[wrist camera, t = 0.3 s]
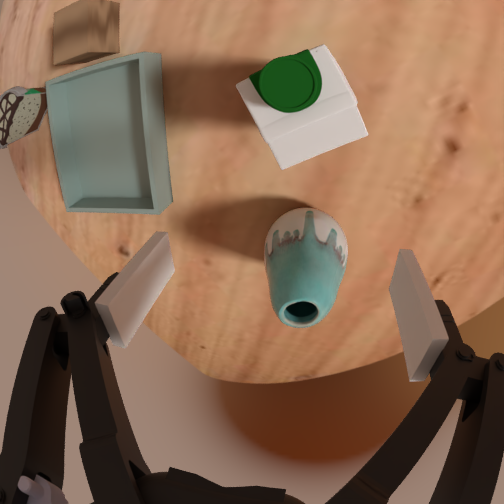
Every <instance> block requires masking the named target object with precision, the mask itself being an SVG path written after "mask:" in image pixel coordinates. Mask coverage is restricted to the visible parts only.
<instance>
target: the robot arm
mask: <svg viewBox="0 0 504 504" xmlns="http://www.w3.org/2000/svg"><path fill="white" fill-rule="evenodd" d="M174 271H175V269H174V264H173V259H172V254H171V248H170V243H169V237H168V232H157V231H156V232H155V233H154V235H153V236H152V237H151V238H150V239H149V240H148V241H147V242H146V243H145V244H144V246H143V247H142V248H141V249H140V250H139V251H138V252H137V253H136V254H135V256H134V257H133V258H132V259H131V260H130V261H129V262H128V264H127V265H126V266H125V267H124V268H123V269H122V271H121V272H120V273H118V272H116V273H114V274H113V275H111V276H110V277H108V278H107V280H106V281H105V282H104V283H103V285H101V287H100V288H99V289H98V290H97V291H96V292H95V294H94V295H93V296H92V297H91V298H90V300H89V301H88V302H87V299H86V297H85V295H84V293H83V292H81V291H74V292H71V293H68V294H67V295H66V296H64V297H63V299H62V300H61V306H62V308H63V310H64V312H65V314H57V312H56V310H55V309H54V308H53V307H45V308H42V309H41V310H40V311H38V313H37V314H36V316H35V318H34V320H33V323H32V326H31V329H30V332H29V335H28V338H27V341H26V344H25V347H24V350H23V354H22V357H21V361H20V364H19V368H18V371H17V375H16V379H15V383H14V387H13V391H12V396H11V400H10V405H9V410H8V415H7V421H6V427H5V433H4V440H3V447H2V452H1V454H0V504H68V501H67V500H66V499H65V495H64V494H63V492H62V486H63V479H64V449H65V429H66V428H65V427H66V415H67V404H68V394H69V386H70V379H71V374H72V381H73V388H74V395H75V401H76V407H77V412H78V418H79V422H80V427H81V432H82V436H83V442H82V443H80V446H79V449H80V454H81V458H82V462H83V466H84V470H85V473H86V476H87V480H88V484H89V487H90V490H91V493H92V496H93V499H94V502H93V503H91V504H305V503H304V502H302V501H300V500H299V499H297V498H295V497H293V496H290V495H287V494H285V492H286V489H278V488H269V487H261V486H246V487H222V486H220V485H218V484H215V483H213V482H211V481H209V480H207V479H205V478H203V477H201V476H199V475H197V474H194V473H190V472H186V471H182V470H179V469H175V468H172V467H170V468H169V471H168V472H158V473H151V471H150V469H149V468H148V466H147V465H146V463H145V461H144V460H143V457H142V455H141V452H140V450H139V447H138V445H137V442H136V439H135V436H134V434H133V431H132V428H131V425H130V422H129V419H128V416H127V413H126V410H125V407H124V404H123V400H122V397H121V394H120V390H119V387H118V384H117V380H116V376H115V372H114V369H113V365H112V361H111V357H110V353H109V348H108V345H107V343H106V341H107V340H108V338H109V337H110V339H111V341H112V343H113V345H116V346H119V347H123V348H126V347H127V345H128V344H129V342H130V341H131V339H132V337H133V336H134V334H135V333H136V331H137V329H138V328H139V326H140V324H141V323H142V321H143V320H144V318H145V316H146V315H147V313H148V312H149V310H150V309H151V307H152V305H153V304H154V302H155V301H156V299H157V298H158V296H159V294H160V293H161V291H162V290H163V288H164V287H165V285H166V284H167V282H168V281H169V279H170V278H171V276H172V274H173V273H174ZM389 291H390V295H391V299H392V303H393V306H394V310H395V314H396V318H397V323H398V327H399V331H400V336H401V340H402V345H403V350H404V354H405V359H406V364H407V370H408V375H409V381H425V379H426V377H427V376H428V374H429V373H430V377H431V381H430V383H429V384H428V386H427V387H426V389H425V390H424V392H423V393H422V395H421V396H420V397H419V399H418V400H417V402H416V403H415V405H414V406H413V407H412V409H411V410H410V411H409V413H408V414H407V416H406V417H405V418H404V419H403V421H402V422H401V423H400V425H399V426H398V427H397V428H396V430H395V431H394V432H393V433H392V435H391V436H390V437H389V438H388V439H387V441H386V442H385V443H384V444H383V445H382V446H381V448H380V449H379V450H378V451H377V452H376V453H375V455H374V456H373V457H372V458H371V459H370V460H369V461H368V462H367V463H366V464H365V465H364V466H363V467H362V469H361V470H360V471H359V472H358V473H357V474H356V475H355V476H354V477H353V478H352V479H351V480H350V481H349V482H348V483H347V484H346V485H345V486H344V487H343V488H342V489H340V490H339V492H338V493H336V494H335V495H334V496H333V497H332V498H331V499H330V500H328V502H326V503H325V504H387V502H388V500H389V497H390V496H391V494H392V493H393V492H394V491H395V490H396V489H397V487H398V486H399V485H400V484H401V483H402V481H403V480H404V479H405V478H406V476H407V475H408V474H409V472H410V471H411V470H412V468H413V467H414V466H415V464H416V463H417V462H418V460H419V459H420V457H421V456H422V455H423V453H424V452H425V450H426V448H427V447H428V446H429V444H430V443H431V441H432V440H433V438H434V437H435V435H436V434H437V432H438V430H439V429H440V427H441V426H442V424H443V422H444V421H445V419H446V417H447V416H448V414H449V412H450V410H451V408H452V407H453V405H454V403H455V401H456V399H462V400H463V401H462V406H461V410H460V414H459V418H458V422H457V426H456V430H455V433H454V436H453V440H452V443H451V446H450V449H449V453H448V456H447V459H446V461H445V465H444V467H443V470H442V473H441V475H440V478H439V481H438V483H437V486H436V488H435V491H434V493H433V495H432V497H431V500H430V502H429V504H490V503H491V500H492V497H493V493H494V490H495V486H496V483H497V479H498V475H499V471H500V467H501V462H502V457H503V453H504V354H502V353H494V354H493V355H492V356H491V357H490V359H485V358H480V357H477V356H476V355H475V352H474V351H473V349H472V348H471V347H470V346H468V345H466V344H464V343H463V341H462V338H461V336H460V333H459V331H458V328H457V325H456V323H455V321H454V318H453V316H452V313H451V311H450V309H449V307H448V306H447V305H446V303H445V302H444V301H443V300H434V298H433V296H432V293H431V291H430V288H429V286H428V284H427V282H426V279H425V277H424V275H423V272H422V270H421V268H420V266H419V264H418V262H417V259H416V257H415V255H414V253H413V251H412V250H406V249H399V254H398V258H397V261H396V265H395V269H394V273H393V276H392V280H391V284H390V287H389Z"/></svg>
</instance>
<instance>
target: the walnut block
mask: <svg viewBox="0 0 504 504" xmlns="http://www.w3.org/2000/svg"><path fill="white" fill-rule="evenodd" d="M119 7H120V3H116V2H112V1H108V0H79V1H77V2H75V3H73V4H71V5H69V6H67V7H65V8H63V9H61V10H59V11H57V12H55V13H54V22H53V62H54V65H60V64H72V63H86V62H90V61H93V60H96V59H99V58H102V57H106V56H109V55H113V54H116V53H120V47H119Z"/></svg>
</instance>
